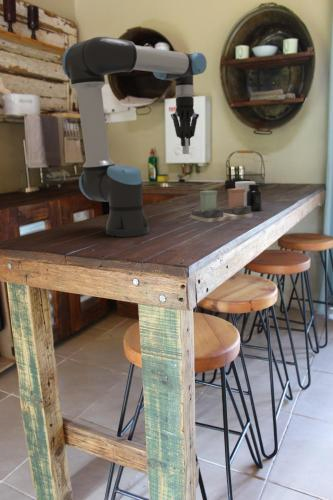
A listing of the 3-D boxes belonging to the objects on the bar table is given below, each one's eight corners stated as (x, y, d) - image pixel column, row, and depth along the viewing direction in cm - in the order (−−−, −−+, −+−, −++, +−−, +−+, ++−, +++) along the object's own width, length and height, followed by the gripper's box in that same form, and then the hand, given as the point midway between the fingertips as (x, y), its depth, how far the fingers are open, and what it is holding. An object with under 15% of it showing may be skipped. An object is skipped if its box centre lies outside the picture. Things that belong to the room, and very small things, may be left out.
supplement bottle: (260, 209, 202) (261, 183, 200) (262, 211, 196) (262, 184, 193) (245, 209, 203) (246, 183, 200) (247, 211, 196) (247, 185, 194)
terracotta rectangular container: (234, 213, 180) (234, 189, 178) (227, 212, 184) (227, 189, 182) (244, 212, 183) (245, 188, 180) (238, 211, 187) (238, 188, 184)
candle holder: (231, 206, 216) (231, 182, 213) (249, 205, 219) (249, 181, 216) (240, 208, 207) (240, 183, 204) (258, 207, 210) (259, 182, 207)
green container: (205, 216, 174) (205, 192, 172) (199, 215, 178) (199, 191, 175) (217, 215, 176) (217, 191, 174) (211, 214, 180) (210, 190, 178)
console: (208, 222, 170) (208, 211, 169) (190, 218, 183) (189, 207, 182) (252, 217, 180) (252, 206, 179) (232, 213, 193) (232, 203, 191)
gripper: (193, 98, 189) (193, 153, 194) (166, 97, 183) (168, 154, 189) (202, 96, 183) (203, 153, 188) (175, 95, 177) (176, 154, 182)
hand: (185, 153), depth 188 cm, fingers closed
